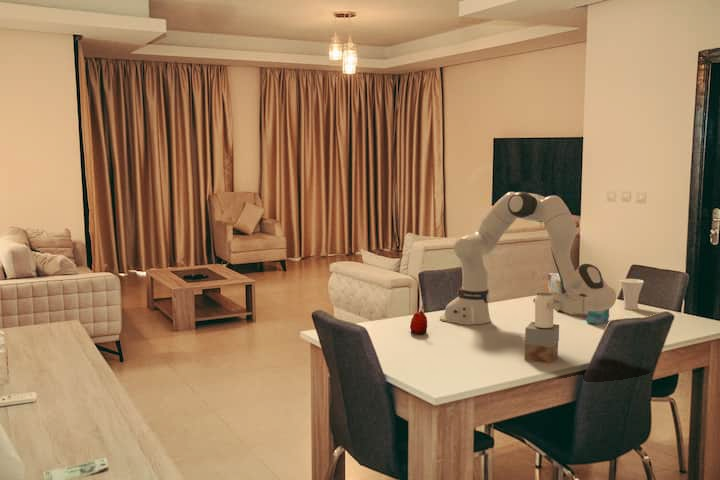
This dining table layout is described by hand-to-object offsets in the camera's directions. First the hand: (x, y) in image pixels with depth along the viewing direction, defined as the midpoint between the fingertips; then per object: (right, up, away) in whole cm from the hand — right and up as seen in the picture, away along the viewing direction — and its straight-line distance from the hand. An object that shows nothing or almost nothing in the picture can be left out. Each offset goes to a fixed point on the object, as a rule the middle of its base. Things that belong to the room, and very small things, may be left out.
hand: (540, 303), depth 254 cm
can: (+1, -9, 0) cm, 9 cm away
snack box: (+30, -10, +84) cm, 89 cm away
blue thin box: (+39, -13, +55) cm, 69 cm away
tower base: (+1, -20, +3) cm, 21 cm away
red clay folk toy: (-41, -16, +38) cm, 58 cm away
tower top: (+1, -15, +2) cm, 15 cm away
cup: (+63, -10, +80) cm, 103 cm away
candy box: (+36, -12, +68) cm, 78 cm away
